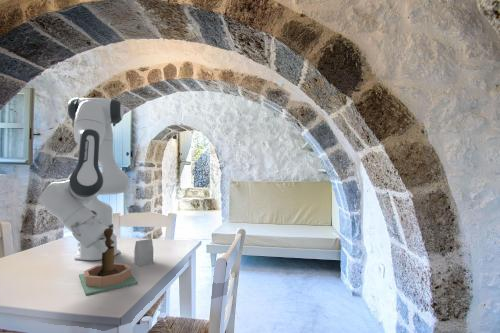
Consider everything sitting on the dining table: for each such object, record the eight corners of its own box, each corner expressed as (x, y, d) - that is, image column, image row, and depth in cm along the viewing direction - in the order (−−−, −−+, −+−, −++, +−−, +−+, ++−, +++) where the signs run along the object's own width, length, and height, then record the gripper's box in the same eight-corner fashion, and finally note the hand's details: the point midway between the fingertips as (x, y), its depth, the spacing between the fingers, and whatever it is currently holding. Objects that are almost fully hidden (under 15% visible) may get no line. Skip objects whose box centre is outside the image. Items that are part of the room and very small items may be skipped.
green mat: (78, 276, 107) (78, 274, 107) (124, 267, 117) (124, 266, 117) (85, 295, 91) (85, 293, 91) (138, 283, 101) (138, 282, 101)
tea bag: (153, 263, 123) (153, 239, 123) (137, 266, 119) (137, 242, 119) (149, 260, 126) (150, 238, 126) (134, 264, 122) (134, 240, 122)
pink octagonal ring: (82, 276, 106) (82, 268, 106) (123, 268, 114) (124, 261, 114) (87, 289, 94) (87, 280, 94) (133, 280, 103) (133, 271, 103)
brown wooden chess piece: (120, 274, 108) (121, 226, 108) (113, 281, 101) (114, 230, 101) (102, 274, 107) (103, 226, 107) (94, 281, 101) (94, 230, 101)
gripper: (76, 219, 93) (108, 248, 95) (96, 210, 113) (122, 234, 115) (60, 233, 92) (93, 262, 94) (83, 222, 112) (110, 246, 114)
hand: (109, 247), depth 104 cm, fingers open, 8 cm apart
